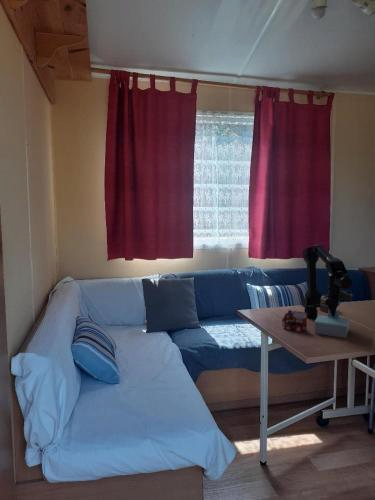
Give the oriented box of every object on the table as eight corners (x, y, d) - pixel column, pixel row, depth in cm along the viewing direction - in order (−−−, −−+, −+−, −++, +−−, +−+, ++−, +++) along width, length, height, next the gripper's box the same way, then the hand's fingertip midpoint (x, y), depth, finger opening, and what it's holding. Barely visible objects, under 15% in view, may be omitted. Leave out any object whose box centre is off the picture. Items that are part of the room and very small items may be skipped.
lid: (314, 324, 172) (314, 314, 171) (318, 317, 183) (318, 308, 182) (347, 328, 165) (347, 318, 164) (349, 321, 176) (349, 311, 175)
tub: (314, 334, 172) (315, 322, 172) (318, 328, 183) (318, 316, 182) (346, 339, 166) (346, 326, 165) (348, 332, 176) (348, 320, 176)
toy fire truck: (284, 327, 185) (285, 307, 184) (309, 331, 178) (309, 310, 177) (280, 330, 179) (280, 310, 178) (305, 334, 173) (305, 314, 172)
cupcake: (336, 309, 219) (336, 293, 218) (333, 313, 211) (334, 296, 210) (320, 307, 224) (320, 292, 223) (316, 311, 216) (317, 295, 215)
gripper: (350, 290, 165) (349, 322, 166) (353, 283, 181) (352, 313, 183) (325, 287, 170) (324, 319, 172) (330, 281, 187) (329, 310, 188)
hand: (333, 315), depth 178 cm, fingers closed
